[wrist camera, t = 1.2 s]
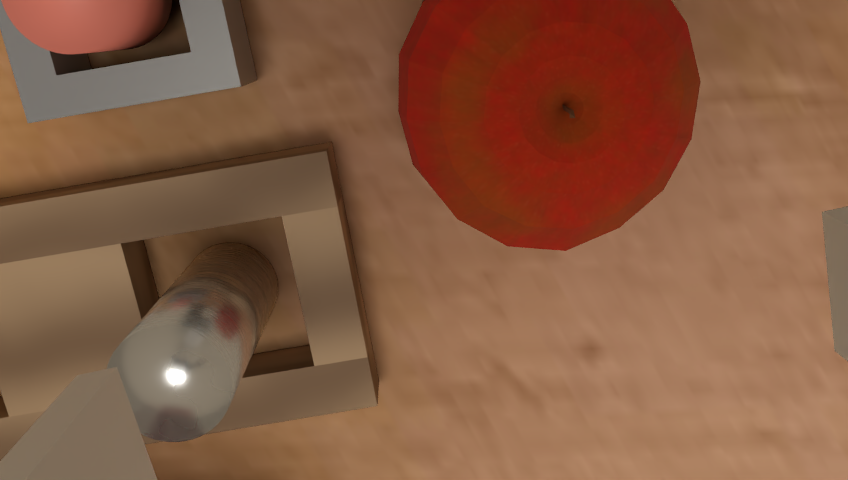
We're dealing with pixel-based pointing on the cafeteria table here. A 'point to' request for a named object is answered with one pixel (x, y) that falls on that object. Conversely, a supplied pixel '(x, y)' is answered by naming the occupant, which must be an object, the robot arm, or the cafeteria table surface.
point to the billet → (197, 343)
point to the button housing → (133, 67)
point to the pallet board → (136, 292)
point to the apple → (547, 111)
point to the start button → (88, 23)
